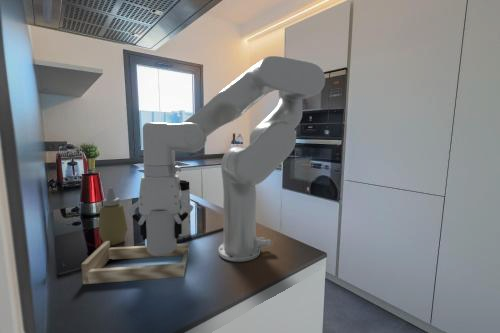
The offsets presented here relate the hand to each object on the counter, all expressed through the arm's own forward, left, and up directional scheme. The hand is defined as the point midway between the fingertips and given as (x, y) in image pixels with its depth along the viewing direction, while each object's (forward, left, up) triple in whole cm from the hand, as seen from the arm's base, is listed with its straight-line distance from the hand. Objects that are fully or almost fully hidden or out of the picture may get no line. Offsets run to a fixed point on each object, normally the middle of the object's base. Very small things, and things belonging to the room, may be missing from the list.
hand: (161, 236), depth 64 cm
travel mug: (-2, -19, -8) cm, 21 cm away
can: (0, 0, -4) cm, 4 cm away
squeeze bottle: (+19, -17, -8) cm, 27 cm away
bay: (+5, 0, -8) cm, 10 cm away
